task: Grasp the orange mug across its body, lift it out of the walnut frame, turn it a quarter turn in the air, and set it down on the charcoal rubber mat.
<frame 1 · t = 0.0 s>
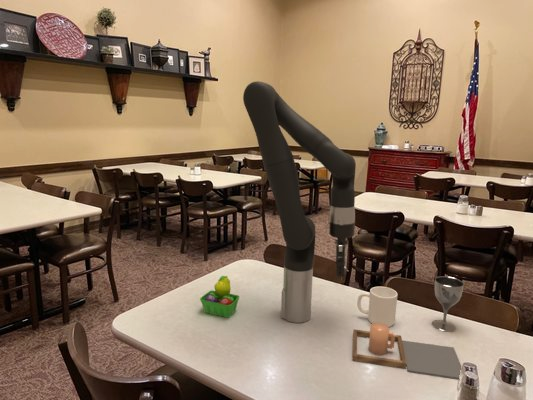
hand: (340, 270, 120), 17 cm above the table, tool pointing down, fingers open, 8 cm apart
cup: (375, 320, 125), on the table
rubber mat: (431, 359, 105), on the table
walnut frame: (377, 350, 109), on the table
wine glass: (443, 326, 123), on the table
orange mug: (381, 339, 108), in the walnut frame
fruit basket: (220, 311, 129), on the table
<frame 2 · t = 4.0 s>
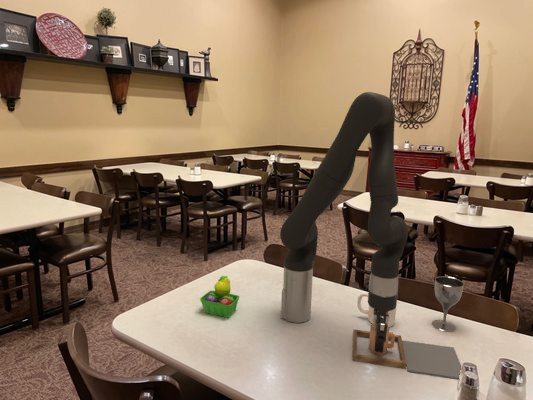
hand: (378, 345, 109), 1 cm above the table, tool pointing down, fingers closed on orange mug, 5 cm apart
orange mug: (381, 339, 108), in the walnut frame, touching gripper
everything else where it was.
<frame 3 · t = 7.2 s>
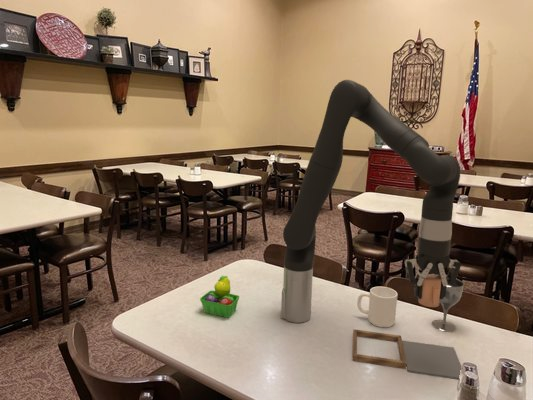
hand: (429, 297, 101), 18 cm above the table, tool pointing down, fingers closed on orange mug, 5 cm apart
orange mug: (431, 291, 100), point 20 cm above the table, touching gripper
everything else where it was.
when the fingers open (3 cm above the table, at t = 10.8 s): orange mug stays where it is, resting on rubber mat.
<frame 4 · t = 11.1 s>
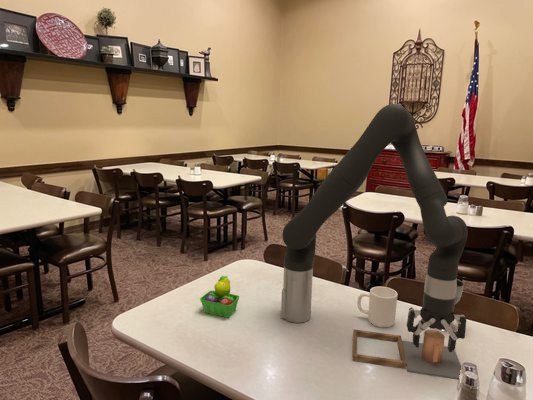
hand: (432, 348, 104), 4 cm above the table, tool pointing down, fingers open, 8 cm apart
orange mug: (433, 348, 103), on the rubber mat
everything else where it was.
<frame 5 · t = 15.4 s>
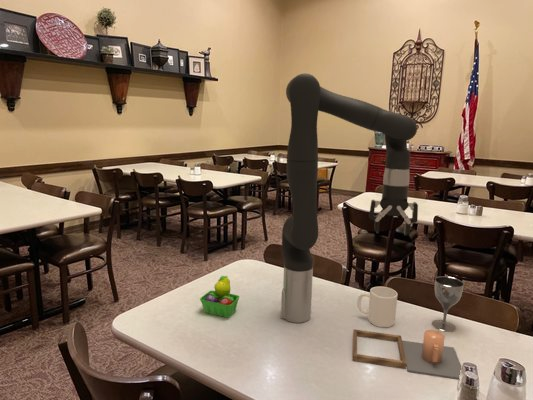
hand: (391, 233, 122), 28 cm above the table, tool pointing down, fingers open, 8 cm apart
nothing on the table moved.
at the end: orange mug inside the target area on the rubber mat (0.0 cm from its centre), point 4.0 cm above the rubber mat's base; orange mug tilted 0°; the gripper is holding nothing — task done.
